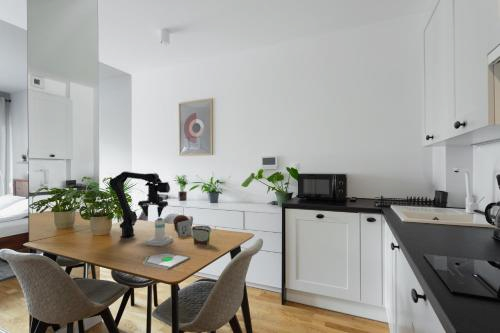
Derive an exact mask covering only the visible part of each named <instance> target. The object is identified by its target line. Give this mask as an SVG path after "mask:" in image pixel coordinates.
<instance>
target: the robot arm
mask: <svg viewBox="0 0 500 333" xmlns="http://www.w3.org/2000/svg"><path fill="white" fill-rule="evenodd" d="M128 179H134V180H136V179H137V180H143V181H145V182H146V183H145V184H144V186H145V187H147V188H148V190H147V192H148V193H147V194H146V197H147V198H148V199H147V200H146V199H145V200H144V199H143V200H139V201H138V203H137V206H138V207H139V208H140V209H141V210H142V211H143V214H144V215H145V217H148V216H149V207H150V206H152V205H153V206H157V207H156V208H157V209H156V211H157V217H158V218H161V216H162V212H163V210H164V209H165V208H166V207H167V206H169V202H168V201H167V200H164V197H162V196H160V194H159V193H161V194H162V193H164V194H166V193H167V194H168V193H170V191H171V187H170V184H169V182H168V181H165V182H163V181H162V180H161V178H160V175H159V174H158V173H156V172H154V173H139V172H132V171H128V170H127V171H122V172H121V173H119V175H116V176H114V177H113V178H110V179H109V182H108V185H109V187H110V188H111V190H112V191H113V192H115V194H116V197H117V200H118V202H119V206H120V208H121V211H122V222H121V223H120V224H119V229H121V235H120V236H119V237H120V238H126V239H127V238H131V237H133V236H136V234H134V233H135V232H134V231H135V230H134V226H135V225H136V223H137V221H138V215H137V212H136V211H132V208H131V206H130V204H129V203H130V202H129V201H128V198H127V195H126V194H125V190H124V188H125V182H126V181H128Z"/></svg>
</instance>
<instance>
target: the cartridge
mask: <svg viewBox="0 0 500 333" xmlns="http://www.w3.org/2000/svg"><path fill="white" fill-rule="evenodd" d="M165 222H166V219H163V218H162V217H158V218H157V219H155V220H154V237H155V241H158V242H163V241H165V237H166V235H165V234H166V232H165V226H166V223H165Z"/></svg>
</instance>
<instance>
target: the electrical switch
mask: <svg viewBox="0 0 500 333" xmlns="http://www.w3.org/2000/svg"><path fill="white" fill-rule="evenodd" d="M176 226H177V230H176V231H177V236H178V237H180V238H182V237H186V236H190V235H192V224H191V220H189V221H184V222H179V223H178V224H176ZM178 228H179V230H178Z"/></svg>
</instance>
